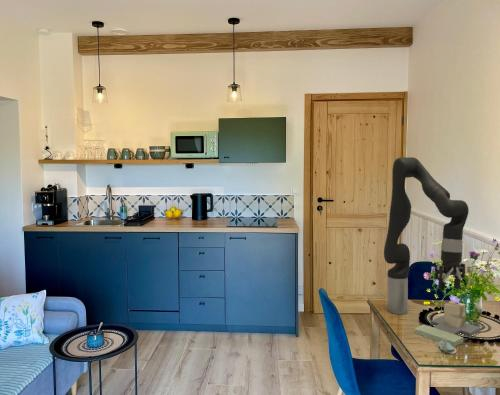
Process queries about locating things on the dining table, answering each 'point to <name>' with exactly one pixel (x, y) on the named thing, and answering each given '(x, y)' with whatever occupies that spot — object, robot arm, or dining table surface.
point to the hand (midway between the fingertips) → (449, 289)
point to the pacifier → (446, 346)
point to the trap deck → (446, 331)
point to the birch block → (454, 314)
